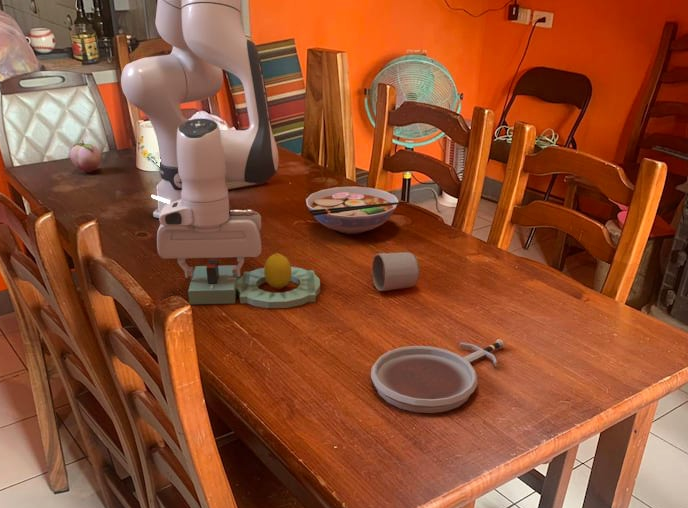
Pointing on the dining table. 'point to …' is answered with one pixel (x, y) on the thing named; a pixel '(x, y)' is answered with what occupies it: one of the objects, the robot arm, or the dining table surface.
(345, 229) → the ramen bowl
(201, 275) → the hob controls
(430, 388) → the frying pan
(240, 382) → the dining table surface
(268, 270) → the lemon
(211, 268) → the hob knob
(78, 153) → the decorative fruit
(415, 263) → the ceramic mug
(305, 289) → the hob
